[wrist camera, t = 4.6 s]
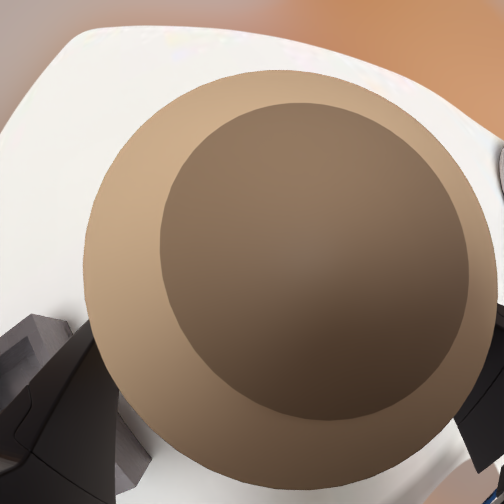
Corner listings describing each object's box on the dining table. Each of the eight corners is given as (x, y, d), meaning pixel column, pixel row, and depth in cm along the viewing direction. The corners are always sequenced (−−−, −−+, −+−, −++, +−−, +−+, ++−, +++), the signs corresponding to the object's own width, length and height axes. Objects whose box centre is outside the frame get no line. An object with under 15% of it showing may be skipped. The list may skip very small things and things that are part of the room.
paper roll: (309, 313, 17) (524, 222, 4) (251, 391, 15) (374, 545, 2) (233, 254, 18) (279, 27, 4) (171, 329, 16) (-1, 269, 3)
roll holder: (152, 459, 14) (135, 486, 10) (52, 499, 11) (26, 520, 7) (66, 321, 15) (31, 313, 11) (-18, 380, 13) (-53, 382, 9)
